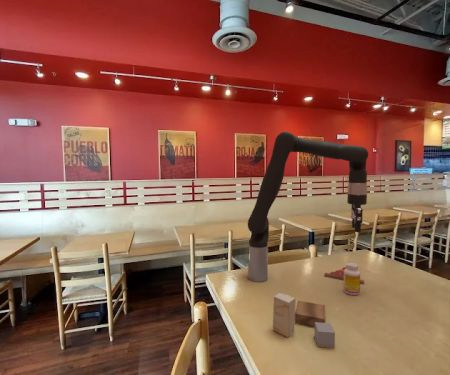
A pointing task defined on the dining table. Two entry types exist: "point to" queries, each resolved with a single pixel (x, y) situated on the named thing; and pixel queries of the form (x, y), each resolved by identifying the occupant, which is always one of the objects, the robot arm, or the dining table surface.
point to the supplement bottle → (351, 279)
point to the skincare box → (284, 314)
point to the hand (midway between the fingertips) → (356, 229)
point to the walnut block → (309, 313)
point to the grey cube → (324, 334)
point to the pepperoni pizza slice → (339, 275)
